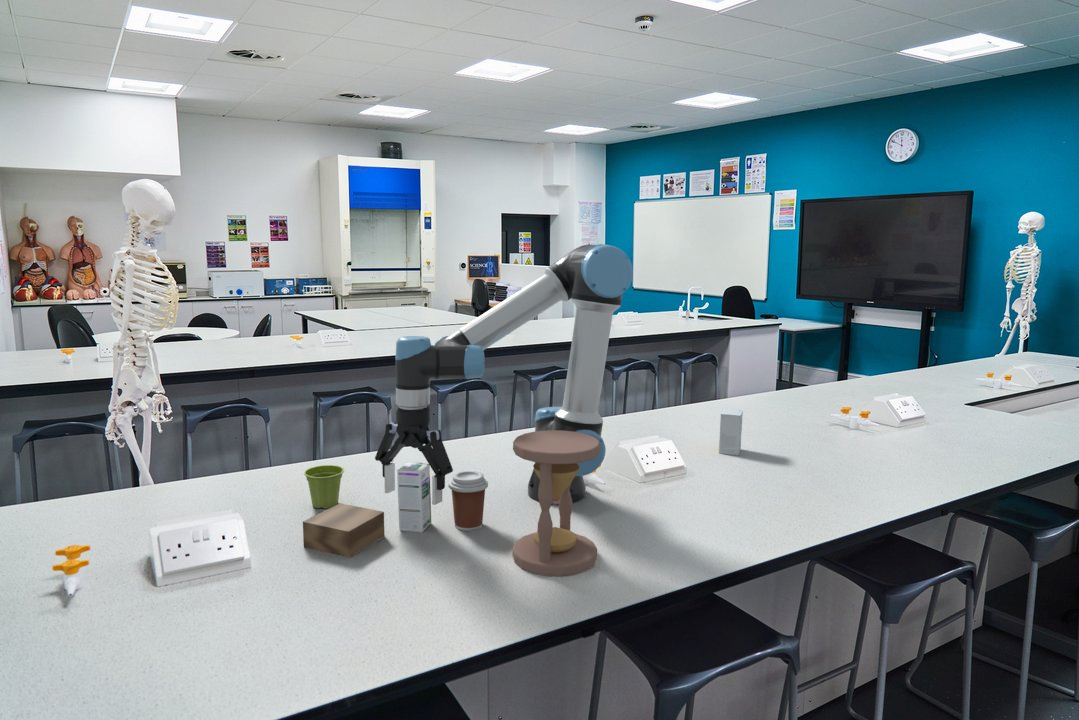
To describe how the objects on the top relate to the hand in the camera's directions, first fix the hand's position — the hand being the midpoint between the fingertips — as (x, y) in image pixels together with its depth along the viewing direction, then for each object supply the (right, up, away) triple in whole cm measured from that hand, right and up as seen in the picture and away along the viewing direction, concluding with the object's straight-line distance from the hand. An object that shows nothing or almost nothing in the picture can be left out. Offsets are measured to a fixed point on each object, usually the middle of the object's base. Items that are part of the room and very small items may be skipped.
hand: (413, 497), depth 158 cm
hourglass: (+32, -10, -14) cm, 36 cm away
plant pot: (-24, -5, +14) cm, 29 cm away
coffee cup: (+12, -7, +3) cm, 15 cm away
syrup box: (0, -7, +1) cm, 7 cm away
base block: (-14, -9, -7) cm, 18 cm away
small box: (+90, +2, +65) cm, 111 cm away
